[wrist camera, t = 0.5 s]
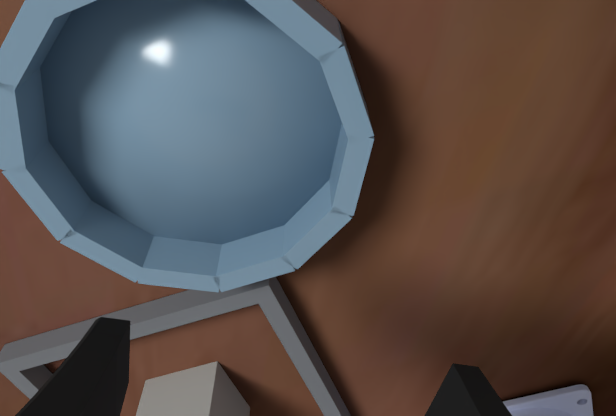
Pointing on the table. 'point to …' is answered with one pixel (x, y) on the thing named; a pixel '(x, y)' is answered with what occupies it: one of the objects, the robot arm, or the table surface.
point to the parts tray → (171, 313)
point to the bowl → (184, 133)
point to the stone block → (193, 394)
